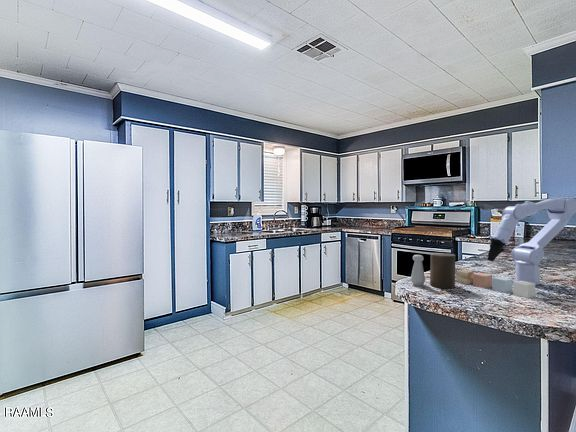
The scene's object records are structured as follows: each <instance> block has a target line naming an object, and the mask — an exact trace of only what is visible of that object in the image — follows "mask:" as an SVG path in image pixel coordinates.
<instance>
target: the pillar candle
mask: <svg viewBox="0 0 576 432" xmlns="http://www.w3.org/2000/svg"><path fill="white" fill-rule="evenodd" d="M429 268H430V273H429V274H430V275H429V277H430V278H429V283H430V284H429V285H430V286H432V287H435V288H438V289H448V290H450V289H454V288H455V287H456V254H454V253H444V251H442V252H432V253H430V267H429Z"/></svg>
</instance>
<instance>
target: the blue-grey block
mask: <svg viewBox="0 0 576 432" xmlns="http://www.w3.org/2000/svg"><path fill="white" fill-rule="evenodd" d="M513 281H514V280H513V278H509V277H502V276H496V277H492V287H491V290H493V291H495V292H500V293H503V294H504V293H510V292H513Z"/></svg>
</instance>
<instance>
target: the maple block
mask: <svg viewBox="0 0 576 432" xmlns="http://www.w3.org/2000/svg"><path fill="white" fill-rule="evenodd" d="M473 274H475V272H474V271H472V270H468V269H467V270H466V269H460V270H458V269H457V270H455V283H461V284H466V285H467V284H468V285H469V284H473Z"/></svg>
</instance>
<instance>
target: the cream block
mask: <svg viewBox="0 0 576 432" xmlns="http://www.w3.org/2000/svg"><path fill="white" fill-rule="evenodd" d="M512 295H514V296H517V297H522V298H525V299H530V298H534V297H536V285H535V283H530V282H525V281H517V282H513V283H512Z"/></svg>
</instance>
